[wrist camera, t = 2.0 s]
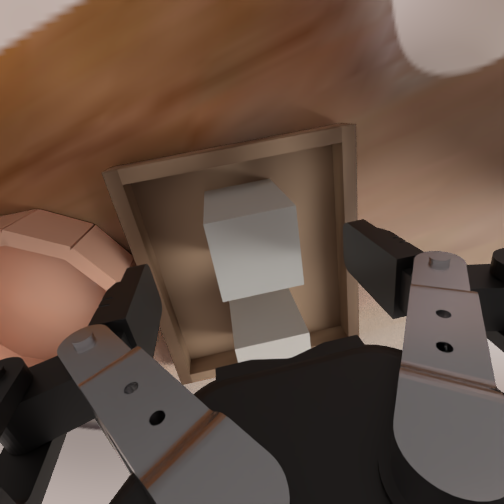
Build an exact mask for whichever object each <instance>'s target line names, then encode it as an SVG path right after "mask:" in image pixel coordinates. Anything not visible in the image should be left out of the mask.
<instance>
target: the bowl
mask: <svg viewBox="0 0 504 504" xmlns="http://www.w3.org/2000/svg"><path fill="white" fill-rule="evenodd" d="M133 266H137V265H136V263H135V260H134V257H133V256H132V255H131V254H130V253H129V252H127V251H126V250H125V249H124V248H123V247H121V246H120V245H119V244H118V243H117V242H116V241H114V240H113V239H112V238H111V237H110V236H108V235H107V234H106V233H105V232H104V231H102V230H101V229H100V228H99V227H98V226H96V225H95V226H94V224H92V223H88V222H85V221H81V220H77V219H74V218H70V217H66V216H63V215H59V214H55V213H52V212H48V211H44V210H41V209H38V210H37V209H35V210H30V211H24V212H19V213H14V214H9V215H4V216H0V360H2V359H5V358H9V357H20V358H22V359H23V360H24V362H25V363H26V365H27V366H28V368H29V367H31V366H34V365H36V364H39V363H41V362H43V361H46V360H48V359H51V358H53V357H55V356H57V349H58V347H59V345H60V344H61V343H62V341H63V340H64V339H66V338H67V337H68V336H69V335H71V334H72V333H74V332H76V331H77V330H79V329H82V328H84V327H87V326H88V325H89V323H90V321H91V319H92V317H93V315H94V313H95V311H96V310H97V308H99V307H98V306H99V304H100V302H101V301H102V298H103V296H104V294H105V293H106V291H107V290H108V289H109V288H110V287H111V286H112V285H114V284H115V283H116V282H120V281H121V279H122V277H123V275H124V273H125V271H126V269H127V268H128V267H133Z"/></svg>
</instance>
